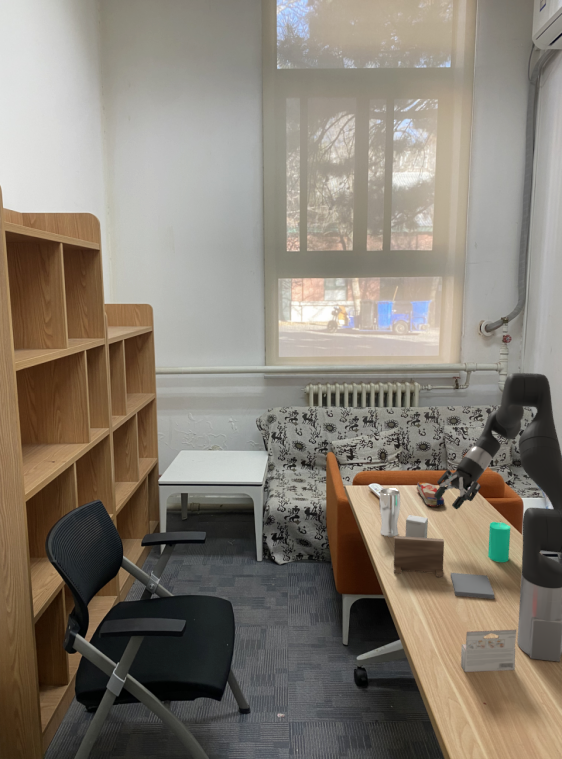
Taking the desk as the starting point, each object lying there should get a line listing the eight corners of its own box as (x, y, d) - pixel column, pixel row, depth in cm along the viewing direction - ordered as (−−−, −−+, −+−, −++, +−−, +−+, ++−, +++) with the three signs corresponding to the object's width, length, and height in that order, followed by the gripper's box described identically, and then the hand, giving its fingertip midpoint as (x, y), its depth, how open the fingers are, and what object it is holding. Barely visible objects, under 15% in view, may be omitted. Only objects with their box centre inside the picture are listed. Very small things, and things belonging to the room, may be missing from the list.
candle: (510, 563, 159) (512, 525, 157) (489, 561, 160) (491, 524, 158) (506, 553, 165) (508, 517, 163) (486, 552, 166) (488, 516, 164)
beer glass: (384, 538, 176) (385, 496, 173) (375, 530, 182) (376, 489, 180) (403, 536, 178) (404, 494, 175) (393, 527, 184) (394, 487, 182)
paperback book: (443, 492, 218) (444, 480, 217) (444, 510, 199) (445, 497, 198) (416, 490, 221) (416, 478, 220) (414, 507, 202) (415, 495, 202)
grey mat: (494, 598, 140) (494, 594, 140) (455, 595, 142) (455, 591, 142) (486, 579, 150) (487, 575, 150) (450, 576, 152) (450, 572, 151)
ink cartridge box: (460, 665, 115) (461, 624, 114) (509, 663, 116) (512, 622, 114) (464, 673, 113) (466, 631, 111) (515, 671, 113) (517, 629, 112)
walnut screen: (443, 577, 151) (444, 545, 149) (394, 573, 154) (394, 541, 152) (441, 567, 157) (442, 535, 155) (393, 563, 159) (394, 532, 158)
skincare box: (404, 555, 164) (405, 519, 163) (407, 549, 168) (408, 514, 166) (424, 559, 162) (425, 522, 160) (427, 553, 165) (428, 517, 164)
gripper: (453, 450, 175) (424, 488, 172) (484, 462, 162) (454, 504, 159) (464, 464, 177) (436, 501, 175) (497, 476, 165) (467, 517, 162)
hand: (445, 502), depth 167 cm, fingers open, 8 cm apart
